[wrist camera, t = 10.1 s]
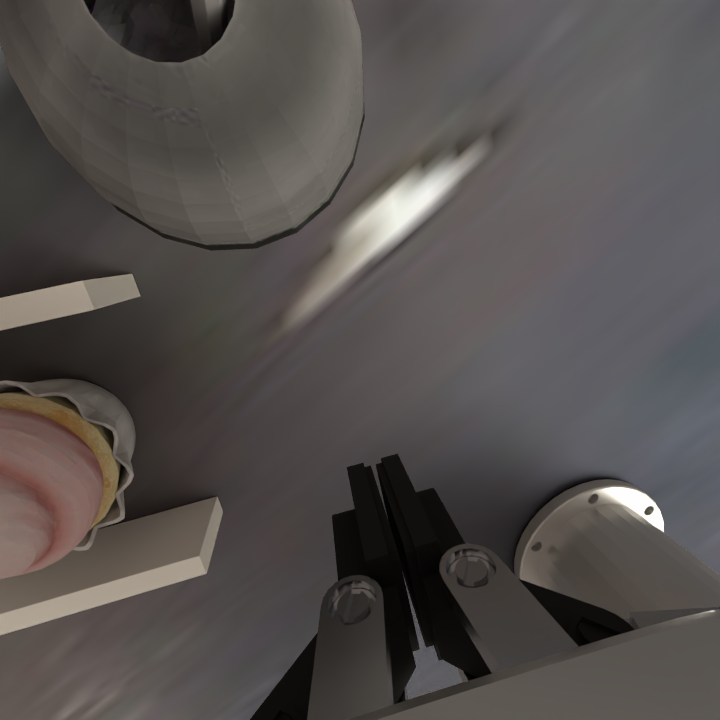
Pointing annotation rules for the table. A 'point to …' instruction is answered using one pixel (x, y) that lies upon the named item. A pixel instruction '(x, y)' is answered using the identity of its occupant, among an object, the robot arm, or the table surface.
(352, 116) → the beverage cup
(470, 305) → the table surface
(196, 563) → the box
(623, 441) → the table surface
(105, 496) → the cupcake
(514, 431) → the table surface
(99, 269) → the table surface
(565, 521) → the robot arm
